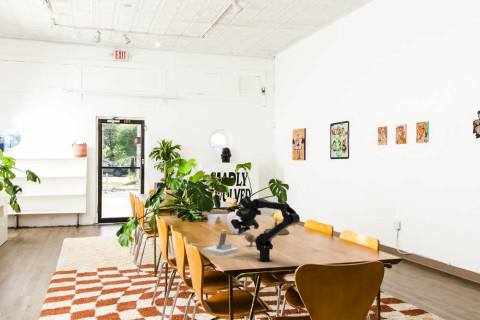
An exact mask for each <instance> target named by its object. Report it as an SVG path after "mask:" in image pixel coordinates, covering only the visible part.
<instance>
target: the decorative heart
mask: <svg viewBox="0 0 480 320" xmlns="http://www.w3.org/2000/svg"><path fill="white" fill-rule="evenodd" d="M232 219H238V220H239V221H242V220H240V217H239V216H237V215H236V212H234V211H231V212H228V213H227V215H226V220H225V221H226V224H227V226H228V228H229V229H230V230H231V232H232V233H234V234H236V235H239V234H238V230H239V229H235V228H234V227H233V225H232V224H231V220H232ZM244 233H245V232H243V233H242V234H243V235H245V234H244Z"/></svg>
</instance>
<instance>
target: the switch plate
mask: <svg viewBox="0 0 480 320" xmlns="http://www.w3.org/2000/svg"><path fill="white" fill-rule="evenodd" d="M232 244H233V243H225V245H222V248H219V244H218V245H212V246H209V247H204V248H202V251H203V252H204V253H209V254H213V255H219V256H225V255H226V256H227V255H230V253H231V254H233V253H234V252H235V253H238V252H240V248H239V247H234V246H233V245H232ZM235 253H234V254H235Z"/></svg>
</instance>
